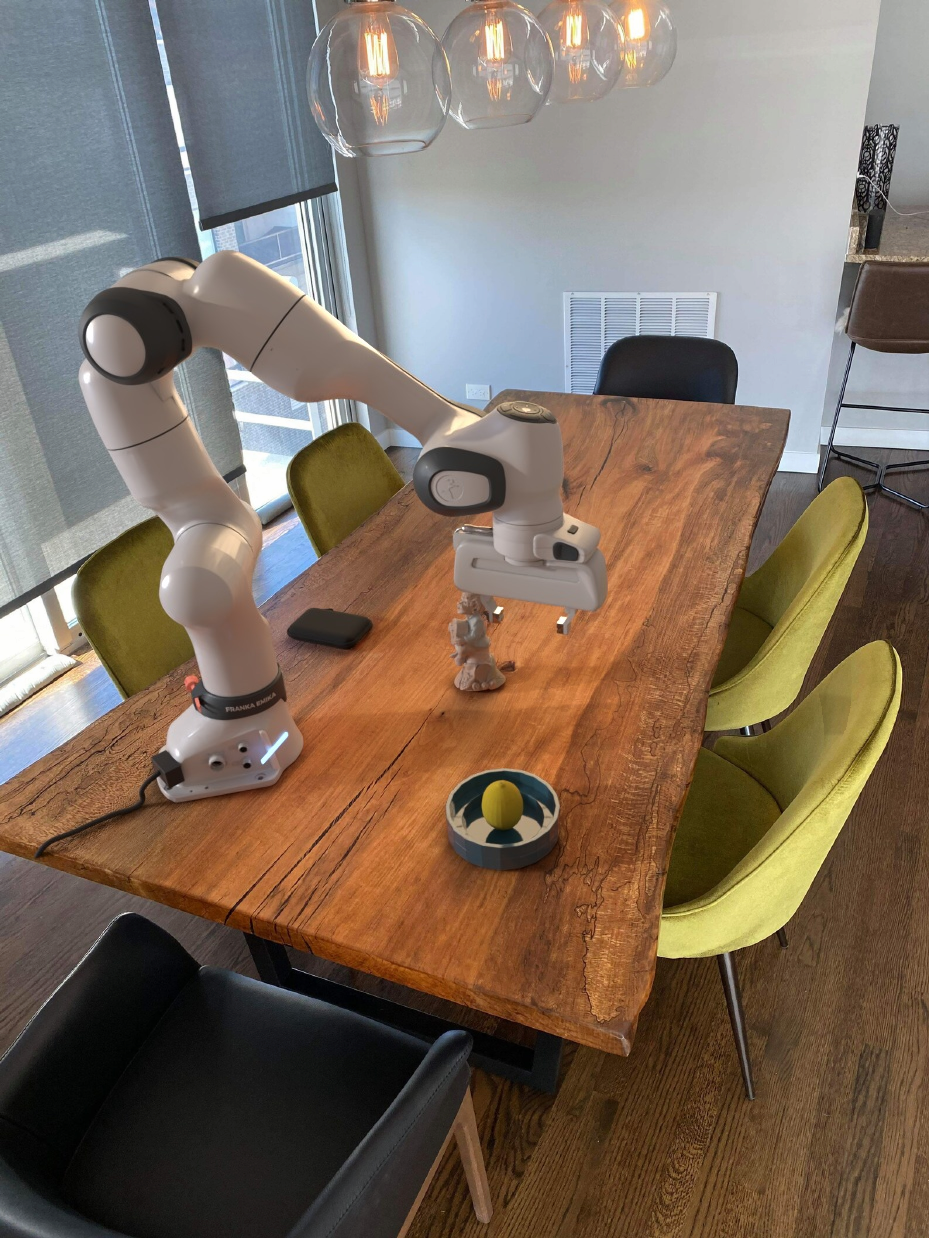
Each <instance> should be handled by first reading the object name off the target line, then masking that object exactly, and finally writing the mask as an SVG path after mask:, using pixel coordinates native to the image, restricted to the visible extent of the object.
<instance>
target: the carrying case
mask: <svg viewBox="0 0 929 1238" xmlns="http://www.w3.org/2000/svg"><path fill="white" fill-rule="evenodd" d="M373 628H374V623H373V621H372V620H371V619H370V618H369V617H368V616H364V615H360V614H354V613H348V612H343V611H337V610H335V609H333V608H331V607H330V608H329V607H328V608H319V607H309V608H307V610H305V611H304V612H303V613H302V614H301V615H300V616H299V617H297V618H296V619H295V620H294V621H293V622H292V623H291V624H290V625H289V626H288V627H287V629H286V635H287V636H288V637H289V638H290V639H291V640H294V641H297V642H303V643H307V644H312V645H317V646H321V647H328V648H331V649H332V648H333V649H337V650H343V651H350V650H352V649H354V648H355V647H356V646H357V645H358V644H359V643H360V642H361V641H362V640H363V638H364V637H366V635H367V634H368V633H370V631H371V630H372V629H373Z"/></svg>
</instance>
